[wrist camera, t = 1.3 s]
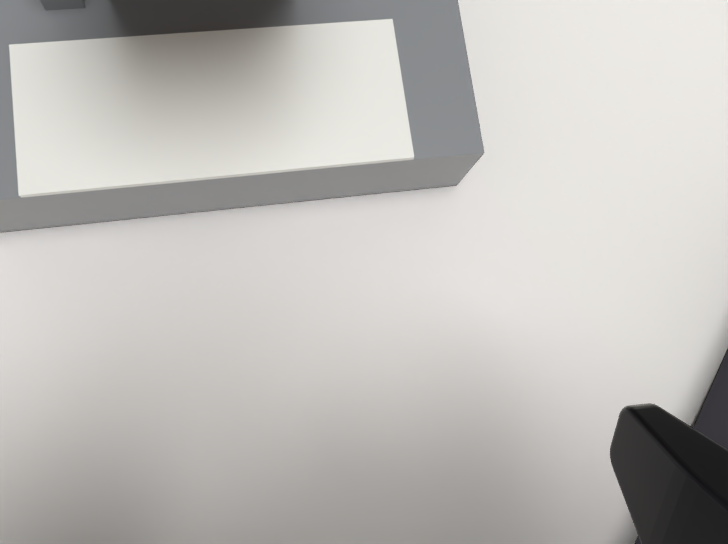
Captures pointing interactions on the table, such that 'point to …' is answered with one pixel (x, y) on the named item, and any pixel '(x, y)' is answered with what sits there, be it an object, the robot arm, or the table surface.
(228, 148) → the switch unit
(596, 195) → the table surface
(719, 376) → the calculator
